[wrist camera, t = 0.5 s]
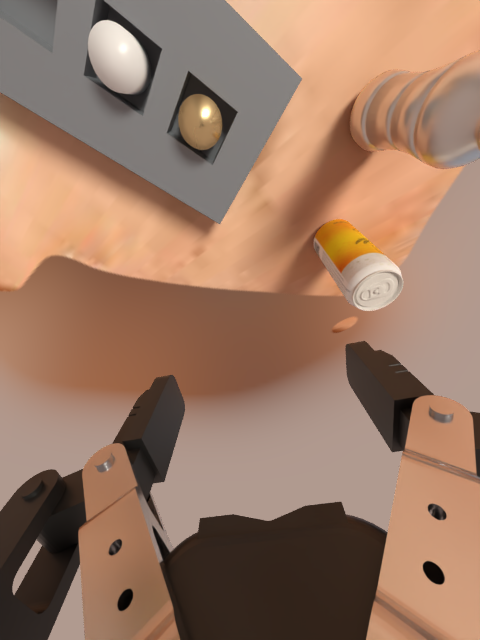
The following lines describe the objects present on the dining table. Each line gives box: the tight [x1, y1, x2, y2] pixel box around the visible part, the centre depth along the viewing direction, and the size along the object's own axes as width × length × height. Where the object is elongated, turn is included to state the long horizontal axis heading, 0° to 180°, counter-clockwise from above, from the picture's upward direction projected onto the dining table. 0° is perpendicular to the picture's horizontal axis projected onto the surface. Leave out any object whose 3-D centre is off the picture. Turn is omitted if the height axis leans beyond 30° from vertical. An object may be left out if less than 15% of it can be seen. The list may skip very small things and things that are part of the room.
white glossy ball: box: [88, 20, 151, 95], centre depth 22 cm, size 4×4×4 cm
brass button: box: [178, 94, 222, 150], centre depth 25 cm, size 4×4×4 cm
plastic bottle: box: [350, 50, 480, 169], centre depth 21 cm, size 6×7×20 cm
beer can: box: [314, 219, 403, 311], centre depth 32 cm, size 6×6×15 cm
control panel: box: [0, 0, 302, 224], centre depth 23 cm, size 30×16×4 cm, turn 58°
